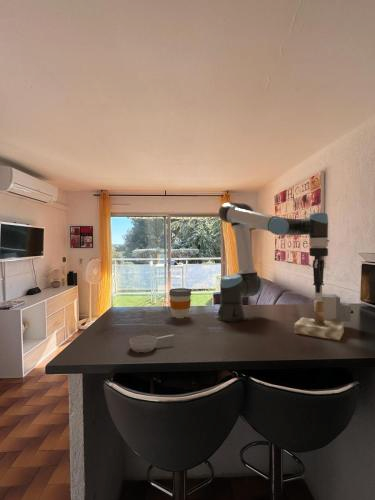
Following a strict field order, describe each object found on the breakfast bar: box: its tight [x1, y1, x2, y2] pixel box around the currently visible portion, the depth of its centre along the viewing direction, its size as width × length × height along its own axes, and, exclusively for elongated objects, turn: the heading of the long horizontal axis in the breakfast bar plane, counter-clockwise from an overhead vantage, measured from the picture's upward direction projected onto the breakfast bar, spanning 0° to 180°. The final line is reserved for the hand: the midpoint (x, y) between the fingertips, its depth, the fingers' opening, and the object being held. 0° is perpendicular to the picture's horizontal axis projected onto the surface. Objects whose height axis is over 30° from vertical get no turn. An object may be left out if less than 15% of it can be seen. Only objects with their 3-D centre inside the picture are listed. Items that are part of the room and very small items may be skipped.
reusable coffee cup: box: [168, 287, 192, 319], centre depth 158 cm, size 13×13×15 cm
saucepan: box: [129, 333, 175, 353], centre depth 110 cm, size 11×18×4 cm, turn 113°
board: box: [293, 317, 345, 341], centre depth 126 cm, size 18×14×4 cm
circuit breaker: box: [317, 293, 354, 323], centre depth 134 cm, size 8×14×15 cm, turn 76°
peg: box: [313, 300, 324, 325], centre depth 126 cm, size 4×4×14 cm
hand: (318, 299), depth 126 cm, fingers closed
